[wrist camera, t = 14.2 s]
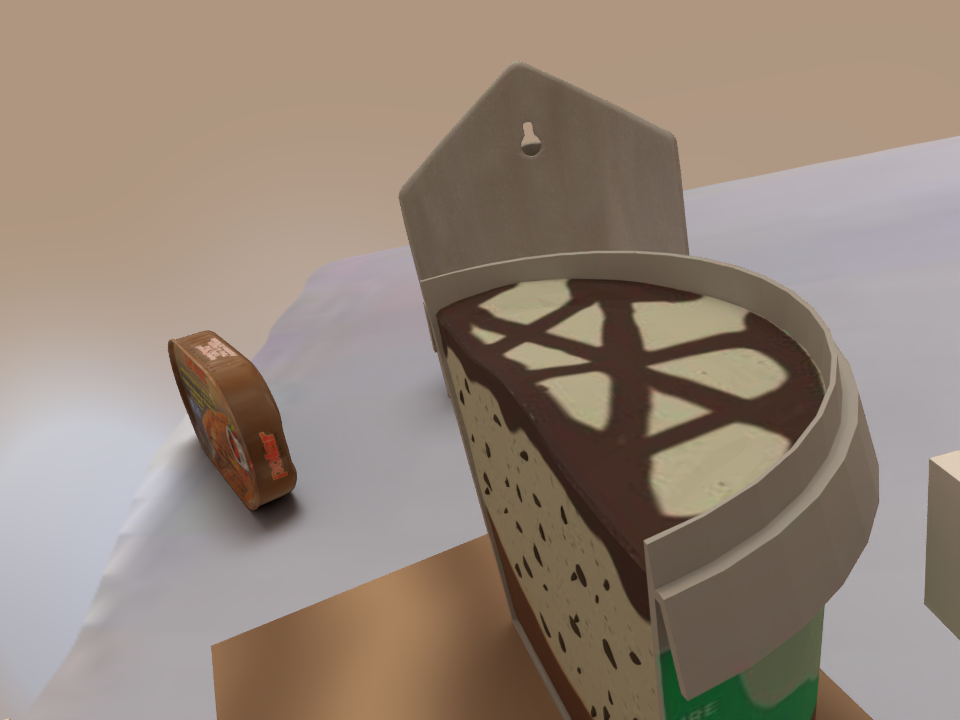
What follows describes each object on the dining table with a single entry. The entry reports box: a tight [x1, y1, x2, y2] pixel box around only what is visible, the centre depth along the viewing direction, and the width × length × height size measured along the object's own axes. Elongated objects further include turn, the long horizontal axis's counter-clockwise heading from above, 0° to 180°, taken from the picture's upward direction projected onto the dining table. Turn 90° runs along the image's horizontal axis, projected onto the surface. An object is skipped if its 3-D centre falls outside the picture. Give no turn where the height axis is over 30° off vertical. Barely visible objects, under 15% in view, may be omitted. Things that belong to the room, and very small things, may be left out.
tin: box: [168, 331, 297, 510], centre depth 48 cm, size 15×3×8 cm, turn 33°
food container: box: [420, 251, 879, 720], centre depth 17 cm, size 12×6×10 cm, turn 18°
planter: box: [399, 61, 689, 396], centre depth 52 cm, size 16×8×19 cm, turn 90°
